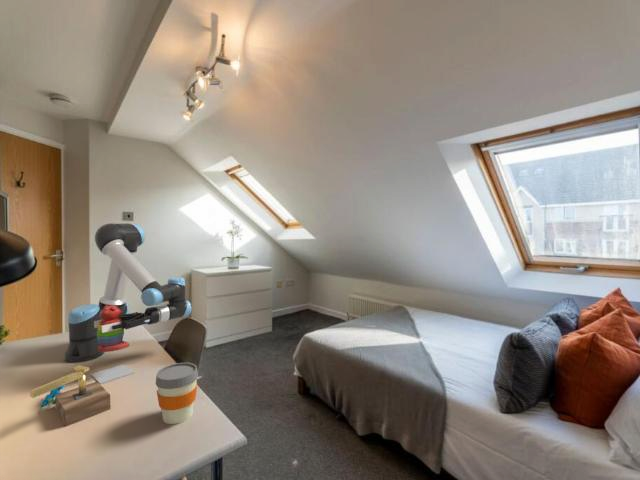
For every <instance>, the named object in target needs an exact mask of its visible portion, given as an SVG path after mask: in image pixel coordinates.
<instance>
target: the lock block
mask: <svg viewBox="0 0 640 480" xmlns="http://www.w3.org/2000/svg"><path fill="white" fill-rule="evenodd" d="M54 400H55V404H54V406H55V411H56V413H57V415H58V416H59V417H60V419H61V421H62V422H63V424H64V426H65V427H68V426H71V425H73V424H77V423H79V422H81V421H84V420H86V419H88V418H91V417H94V416H97V415H100V414H102V413H104V412H107V411H109V410H111V406H112V405H111V394H110V393H109V392H108V391H107V390H106V389H105V388H104V387H103V386H102V384H99V383H98V382H97V381H95V382H91V383H88V384H86V393H85V394H82V395H79V386H78V387H75V388H73V389H70V390H66V391H63V392H62V393H60V394H57V395H55V397H54Z"/></svg>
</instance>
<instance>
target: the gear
mask: <svg viewBox="0 0 640 480" xmlns="http://www.w3.org/2000/svg"><path fill="white" fill-rule="evenodd" d="M65 387H66V384H65V385H63V386H60V387H58V388H56V389H53V390H51V391H49V394H46V395H45V397H44V399H43V400H42V401H41V403H40V407H42V408H44V407H47V406H48V405H49V404H50V403H51V404H52V405H53V406H55V395H57V394H60V393H63V392H62V391H61V390H63V389H64V388H65Z"/></svg>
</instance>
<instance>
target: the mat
mask: <svg viewBox="0 0 640 480" xmlns="http://www.w3.org/2000/svg"><path fill="white" fill-rule="evenodd" d="M132 374H135V372H134V371H133V370H132V369H130V368H128V366H126V365H125V364H123V363H122V364H120V365H117V366H112V367H110V368H106V369H103V370H100V371H96V372H94V373H91V374H90V375H91V376H92V378H93V379H95V380H96V382H98V383H99V384H100V385H103V384H106V383H109V382H111V381H115V380H119V379H122V378H124V377H127V376H130V375H132Z"/></svg>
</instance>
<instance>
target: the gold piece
mask: <svg viewBox="0 0 640 480" xmlns="http://www.w3.org/2000/svg"><path fill="white" fill-rule="evenodd" d="M89 371H90V367H88V366H85V365H80V364H79V365H77V366H74V372H71V373H69V374H67V375H64V376H61V377H60V378H56V379H55V380H52V381H50V382H47V383H45V384H42V385H39V386H37V387H34V388H32V389H29V396H30V398H33V399H34V398H35V399H36V398H37V397H39V396H42V395H44V394H46V393H50V391H51V390H53V389H56V388H58V387H60V386H63V385H65V386H66V385H67V384H70V383H71V382H74V381H76V380H78V381H77V382H78V383H77V384H78V387H79V395H82V394H85V393H86V385H87V376H86V375H87V374H86V372H89Z"/></svg>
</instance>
